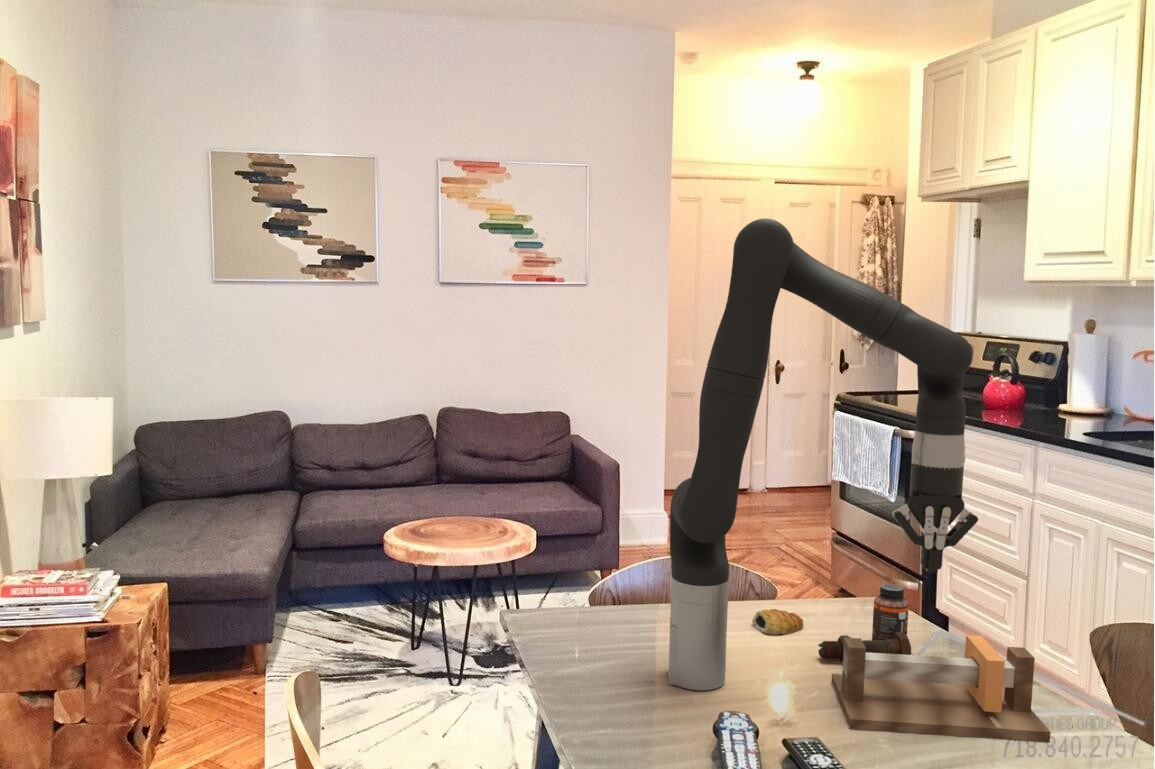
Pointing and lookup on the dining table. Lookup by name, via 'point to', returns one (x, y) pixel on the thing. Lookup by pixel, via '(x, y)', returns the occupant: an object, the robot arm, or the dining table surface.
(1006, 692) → the pipe stand
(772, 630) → the pastry
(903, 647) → the bolt
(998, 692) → the collar
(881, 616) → the supplement bottle
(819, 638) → the dining table surface
